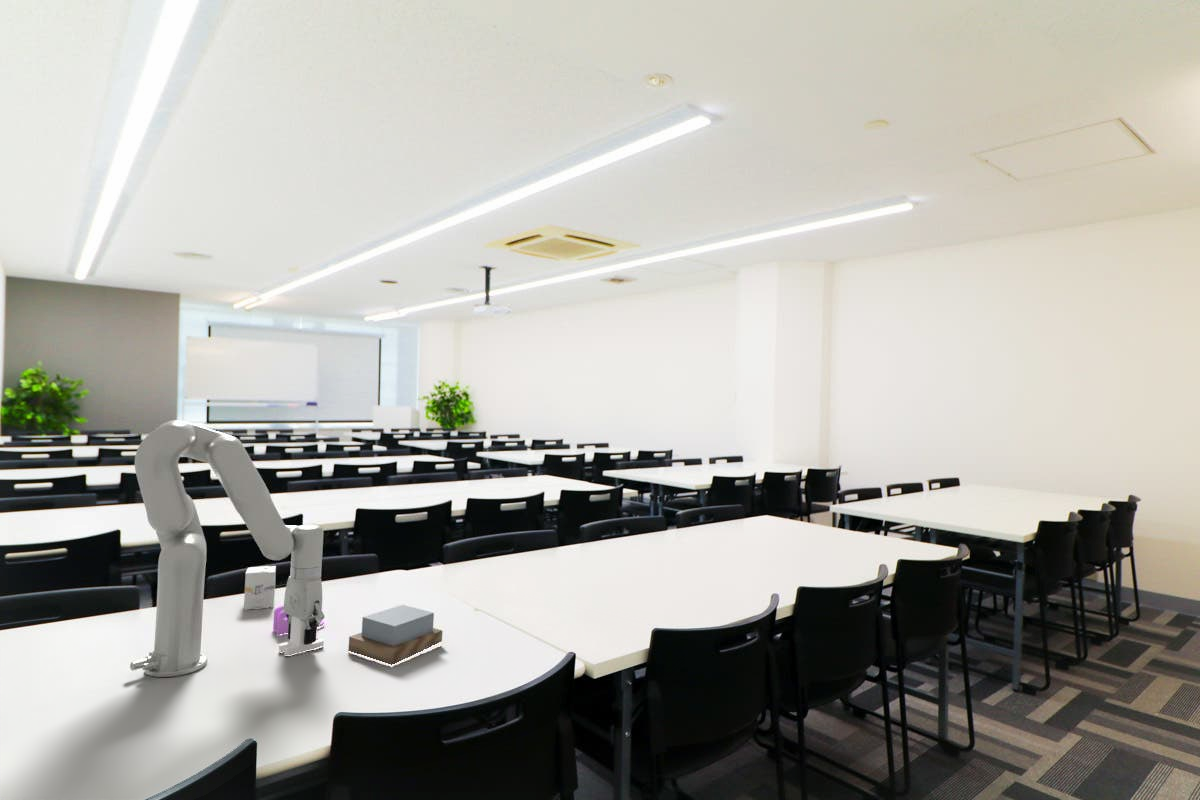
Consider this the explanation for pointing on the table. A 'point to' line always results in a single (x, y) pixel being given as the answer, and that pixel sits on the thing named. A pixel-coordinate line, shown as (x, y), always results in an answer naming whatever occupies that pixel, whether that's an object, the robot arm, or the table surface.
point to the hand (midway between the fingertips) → (301, 639)
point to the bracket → (282, 621)
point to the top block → (397, 624)
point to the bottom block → (393, 652)
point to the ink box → (259, 587)
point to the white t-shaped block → (298, 638)
